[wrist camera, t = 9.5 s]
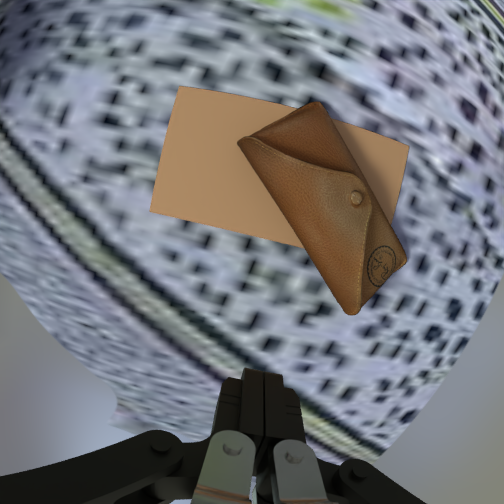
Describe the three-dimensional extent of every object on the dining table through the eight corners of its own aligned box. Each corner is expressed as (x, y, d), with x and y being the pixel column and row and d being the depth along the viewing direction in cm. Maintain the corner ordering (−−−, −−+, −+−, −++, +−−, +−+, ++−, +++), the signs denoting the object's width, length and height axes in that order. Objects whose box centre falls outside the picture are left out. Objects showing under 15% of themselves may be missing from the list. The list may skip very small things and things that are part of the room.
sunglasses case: (414, 260, 27) (413, 301, 22) (354, 284, 31) (339, 324, 26) (316, 94, 24) (290, 94, 19) (258, 135, 28) (222, 147, 23)
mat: (180, 86, 25) (179, 86, 25) (407, 146, 25) (409, 146, 25) (150, 211, 27) (149, 211, 27) (377, 266, 28) (378, 267, 28)
